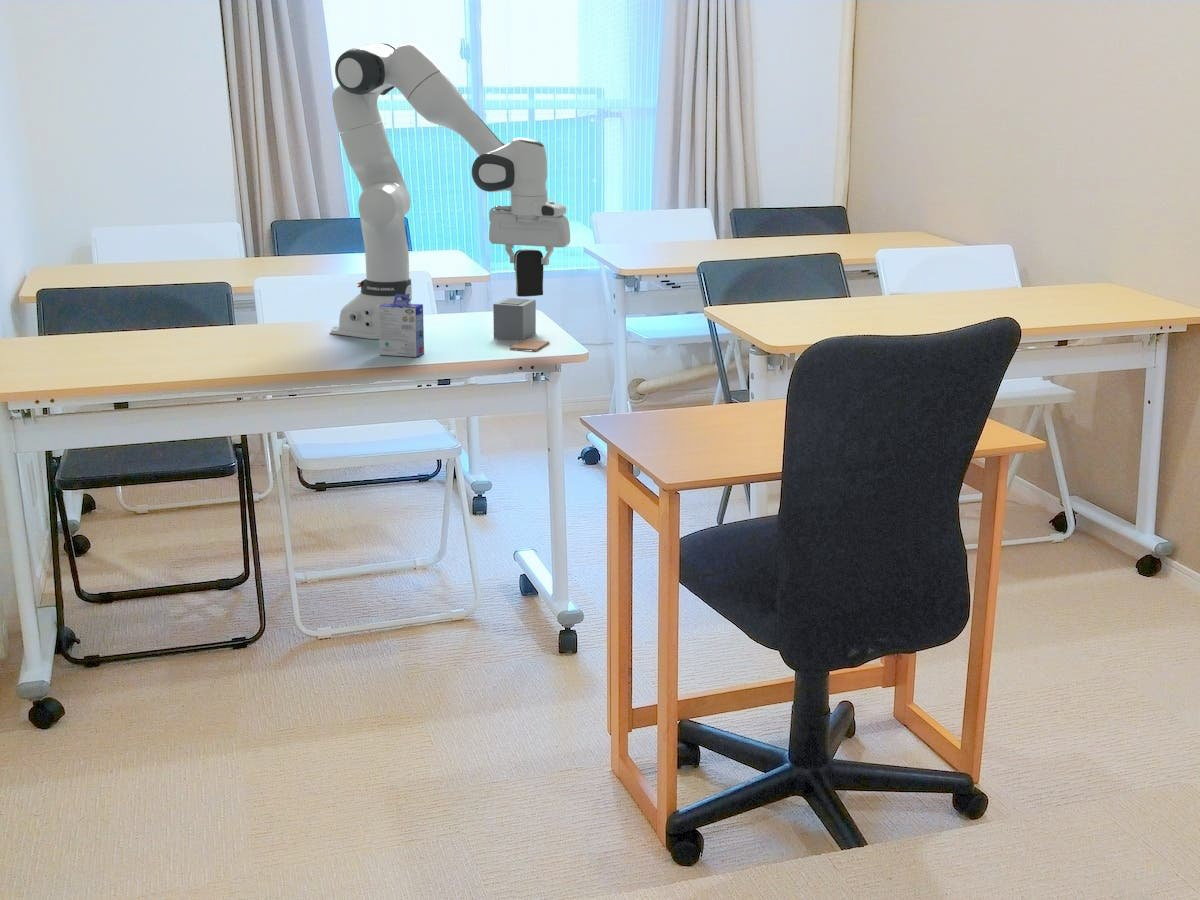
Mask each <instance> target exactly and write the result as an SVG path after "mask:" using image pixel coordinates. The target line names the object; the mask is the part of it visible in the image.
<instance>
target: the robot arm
mask: <svg viewBox="0 0 1200 900" xmlns="http://www.w3.org/2000/svg"><path fill="white" fill-rule="evenodd" d="M334 73H335V75H334V76H335V78H336V81H337V83H338V86H337V87H336V88H335V89H333V92H332V96H331V98H332V99H331V101H332V108H333V113H334V118H335V122H336V126H337V127H336V128H337V130H338V133H339V136H340V139H341V142H342V146H343V149H344V151H345V155H346V157H347V160H348V164H349V166H350V167H351V169H352V170H353V173H354V175H355V176H356V178H357V180H358V183H359V186H360V187H361V190H362V192H361V194H360V196H359V199H358V203H357V206H358V207H357V208H358V213H359V219H360V227H361V233H362V238H363V246H364V255H365V257H364V258H365V277H366V278H364V279H363V280H361V281H360V282H358V283H357V288H360V293H359V294H357V295H356V296H355V297H353V299H351V300H350V301H349V302H348V303H347V304H345V305H344V306H343V307H342V308H341V310H340V313H339V319H338V324H335V325H334V326H332V327H331V328H330V333H331V334H333V335H341V336H348V337H353V338H362V339H369V340H379V319H378V306H380V305H382V304H384V303H394V299H395V295H396V294H408V295H409V304H412V297H413V295H412V294H413V291H412V289H413V288H412V287H413V286H412V279H411V278H410V255H409V254H410V253H409V245H408V241H407V240H408V239H407V236H406V235H407V234H406V228H405V226H406V225H405V217H406V216H407V214H408V213H409V211H410V208H411V195H410V193H409V190H408V188H407V185H406V181H405V180H404V178H403V175H402V172H401V170H400V168H399V166H398V164H397V162H396V159H395V157H394V153H393V152H392V149H391V146H390V142H389V139H388V136H387V133H386V130H385V129H386V128H385V127H384V124H383V120H382V117H381V114H380V112H379V107H378V98H379V96H380V95H381V96H385V95H387V94H388V93H390V91H392V90H393V89H394V88H396V89H397V90H398V91H399V92H400V93H401V94H402V95H403V97H404V98H405V99H406V101H407V102H408V103H409V104H410V105H411V107H412V108H413V109H414V110H415V112H417V113H418V114H419V115H420V116H421V117H422V118H423V119H425V120H426V121H427V122H429V123H433V124H435V125H439V126H442V127H444V128H448V129H449V130H451V131H454V132H455V133H456V134H458V135H459V136H461V137H462V138H463V140H465V141H466V142H467V143H468V144H469V146H470V147H471V148H472V149H473V150H474V151H475V152H476V154H477V155H478V156H477V157H476V159H475V160H474V161H473V163H472V165H471V177H472V180H473V182H474V184H475V185H476V186H477V187H478V188H479V189H480V190H481V191H484V192H488V193H499V192H503V191H510V205H503V206H502V205H494V207H491V209H489V213H488V215H489V216H488V217H489V222H490V224H489V231H488V241H489V242H490V243H491V244H492V245H504V247H505V251H506V253H507V255H508V256H509V264H514V256H515V253H514V251H513V249H514V246H525V247H526V246H527V247H528V246H529V247H531V246H532V247H544V250H545V252H546V254H545V256H543V258H541V261H542V262H541V265H543V266H548V265H550V257H551V255H552V253H553V252H554V248H566V247H568V246H569V244H570V243H571V230H570V224H569V223H570V221H569V219H568V218H567V216H565V215H566V213H567V207H566V205H564V204H562V203H561V204H560V203H559V202H555V201H553V200H550V199H548V191H547V188H546V187H547V186H546V184H547V179H548V160H547V153H546V149H545V148H546V147H545V145H544V144H543V143H542V142H541V141H539V140H536V139H533V138H528V137H521V136H520V137H515V138H513V139H512V140H511V141H510V142H508V143H507V144H505V143H504V142H502V141H501V140H500V138H498V136H497V135H496V134H495V132H493V131H492V130H491V129H490V128H489V126H487V124H486V123H485V121H483V120H482V119H481V118H480V117H479V115H478V114H477V113H476V112H475V111H474V110H473V109H472V108H471V106H470V105H469V104H468V102H467V101H466V100H465V98H464V97H463V96H462V95H461V93H460V92H459V90H457V88H456V87H455V85H454V84H453V82H451V80H450V78H449V77H448V75H446V74H445V72H444V71H443V70H442V69H441V68H440V66H439V65H438V64H437V63H436V62H435V61H434V60H433V59H432V58H431V57H430V56H429V55H428V53H426V52H425V51H424V50H422V49H421V48H420V47H419V46H417V45H416V44H413V43H405V44H402V45H400V46H398V47H397V46H395V45H392V44H389V43H380V44H378V43H377V44H376V43H375V44H373V43H372V44H366V45H362V46H360V47H357V48H350V49H347V50H346V51H344V52H343V53H342V54H340V56H339V57H338V58H337V60H336V62H335V66H334ZM406 299H407V298H405V297H398V298H397V300H406Z"/></svg>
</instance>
